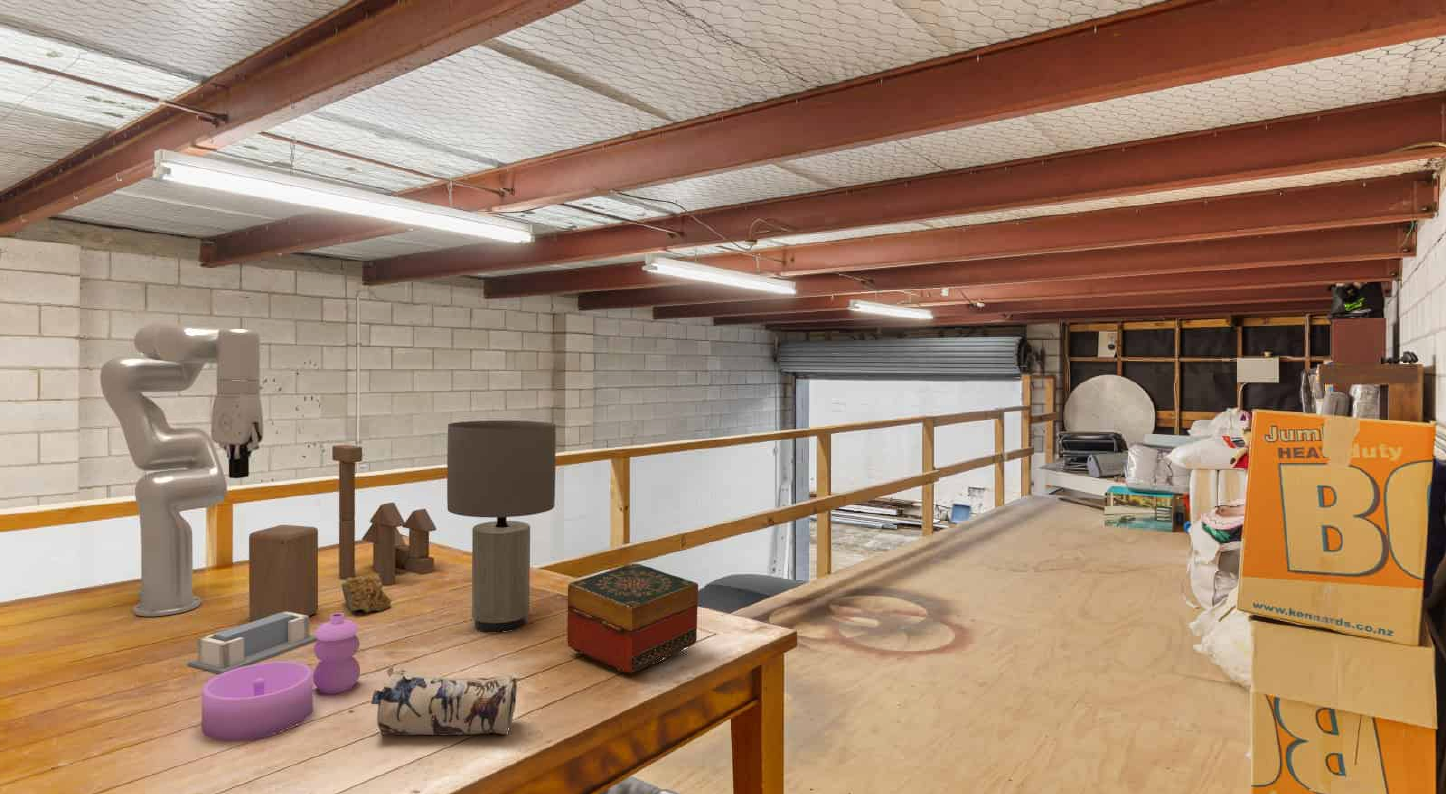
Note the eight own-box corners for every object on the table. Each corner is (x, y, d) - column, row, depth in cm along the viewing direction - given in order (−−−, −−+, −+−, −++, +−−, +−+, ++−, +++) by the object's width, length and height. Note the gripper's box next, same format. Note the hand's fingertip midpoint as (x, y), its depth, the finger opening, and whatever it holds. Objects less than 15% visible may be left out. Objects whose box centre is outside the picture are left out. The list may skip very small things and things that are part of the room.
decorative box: (641, 634, 169) (635, 559, 169) (710, 653, 153) (704, 570, 153) (561, 662, 155) (555, 581, 154) (628, 687, 139) (621, 596, 139)
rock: (348, 627, 180) (334, 587, 182) (386, 612, 186) (372, 574, 188) (359, 618, 172) (344, 576, 173) (398, 603, 178) (383, 562, 179)
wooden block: (286, 627, 165) (286, 535, 165) (247, 623, 167) (246, 532, 167) (319, 613, 175) (320, 526, 174) (281, 609, 177) (281, 523, 176)
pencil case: (368, 744, 117) (368, 681, 116) (391, 718, 125) (391, 659, 125) (513, 745, 117) (513, 682, 117) (526, 720, 126) (526, 661, 125)
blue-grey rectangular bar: (226, 663, 144) (225, 636, 144) (213, 659, 146) (213, 633, 145) (293, 639, 157) (293, 615, 157) (281, 636, 158) (281, 612, 158)
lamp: (438, 645, 157) (439, 428, 155) (453, 610, 179) (455, 420, 177) (552, 639, 162) (555, 429, 160) (553, 606, 184) (556, 420, 182)
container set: (237, 750, 114) (237, 663, 113) (181, 725, 121) (181, 643, 121) (383, 690, 136) (384, 616, 135) (329, 671, 143) (329, 601, 143)
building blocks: (381, 591, 192) (382, 452, 191) (326, 575, 206) (326, 444, 204) (447, 574, 209) (447, 446, 207) (391, 560, 222) (392, 439, 220)
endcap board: (187, 665, 144) (187, 639, 144) (284, 632, 163) (284, 608, 162) (223, 674, 140) (223, 647, 140) (318, 639, 159) (318, 615, 159)
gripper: (196, 387, 158) (196, 476, 159) (245, 390, 152) (246, 482, 153) (231, 387, 165) (232, 472, 166) (280, 389, 159) (280, 477, 160)
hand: (238, 477), depth 159 cm, fingers closed
